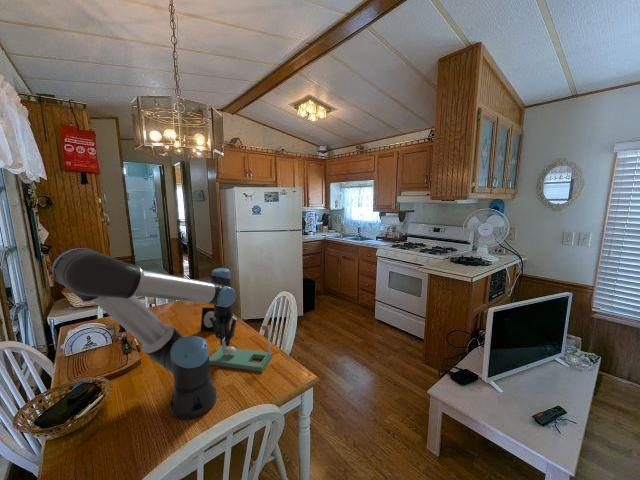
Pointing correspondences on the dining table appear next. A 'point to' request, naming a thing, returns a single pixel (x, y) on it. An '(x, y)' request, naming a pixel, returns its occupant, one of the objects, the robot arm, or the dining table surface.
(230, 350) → the ball
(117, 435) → the dining table surface
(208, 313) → the decorative object
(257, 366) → the putting board
